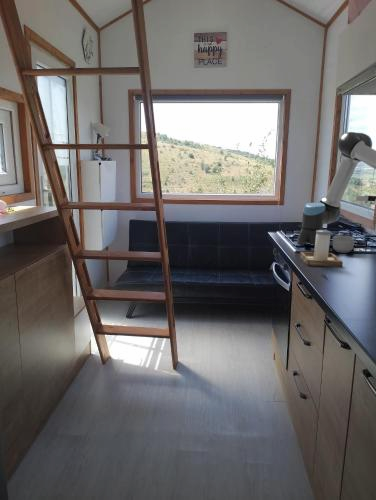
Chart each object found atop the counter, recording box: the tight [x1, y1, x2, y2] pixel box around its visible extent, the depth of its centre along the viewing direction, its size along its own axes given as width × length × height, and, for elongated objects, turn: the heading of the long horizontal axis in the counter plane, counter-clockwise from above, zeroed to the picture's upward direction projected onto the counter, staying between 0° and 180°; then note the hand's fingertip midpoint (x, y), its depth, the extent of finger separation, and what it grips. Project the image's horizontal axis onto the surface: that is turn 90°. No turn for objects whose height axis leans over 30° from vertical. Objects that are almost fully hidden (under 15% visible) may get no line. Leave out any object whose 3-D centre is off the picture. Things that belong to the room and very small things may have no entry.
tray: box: [299, 251, 344, 268], centre depth 189 cm, size 16×16×2 cm
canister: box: [313, 229, 332, 261], centre depth 187 cm, size 7×7×14 cm
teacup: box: [332, 234, 355, 254], centre depth 211 cm, size 14×11×8 cm
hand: (365, 200), depth 185 cm, fingers open, 13 cm apart
